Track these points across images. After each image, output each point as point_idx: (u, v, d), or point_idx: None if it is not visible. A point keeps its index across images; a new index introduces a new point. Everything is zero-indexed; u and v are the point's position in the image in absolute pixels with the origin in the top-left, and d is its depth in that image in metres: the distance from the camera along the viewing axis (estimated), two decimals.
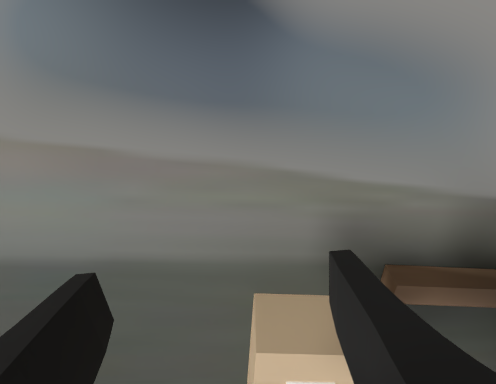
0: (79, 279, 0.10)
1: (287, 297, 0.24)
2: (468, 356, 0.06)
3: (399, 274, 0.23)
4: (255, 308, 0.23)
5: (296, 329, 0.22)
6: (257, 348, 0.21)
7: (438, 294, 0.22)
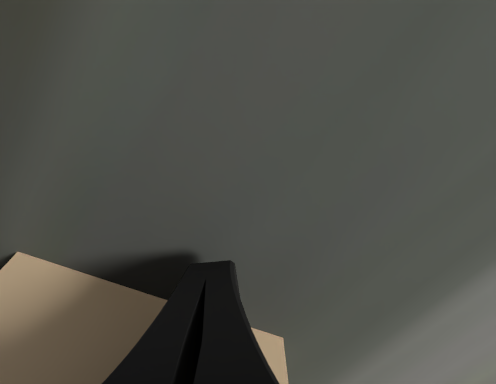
0: (199, 268, 0.10)
1: None
2: (266, 372, 0.06)
3: None
4: (284, 370, 0.13)
5: None
6: None
7: None
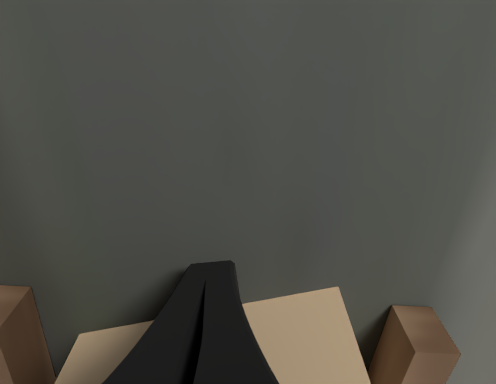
0: (199, 268, 0.10)
1: None
2: (266, 372, 0.06)
3: None
4: (348, 321, 0.11)
5: None
6: None
7: None
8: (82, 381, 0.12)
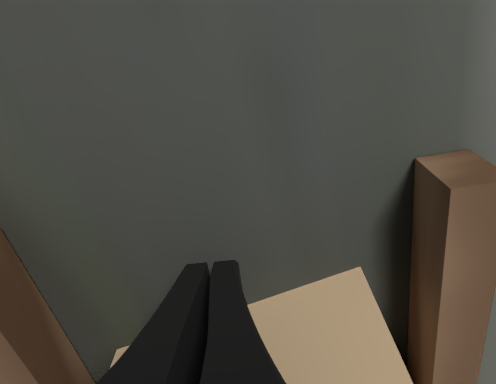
0: (195, 268, 0.10)
1: None
2: (272, 371, 0.06)
3: None
4: (373, 299, 0.11)
5: None
6: None
7: (477, 272, 0.10)
8: None
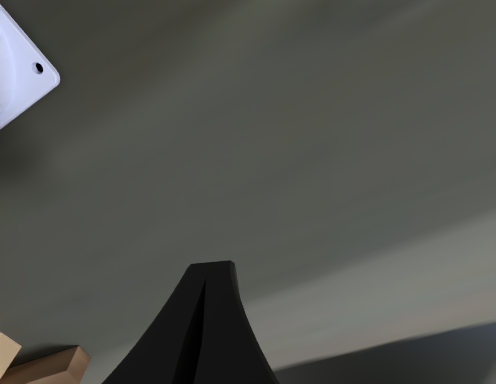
0: (199, 268, 0.10)
1: None
2: (266, 372, 0.06)
3: None
4: (9, 362, 0.25)
5: None
6: None
7: None
8: None
